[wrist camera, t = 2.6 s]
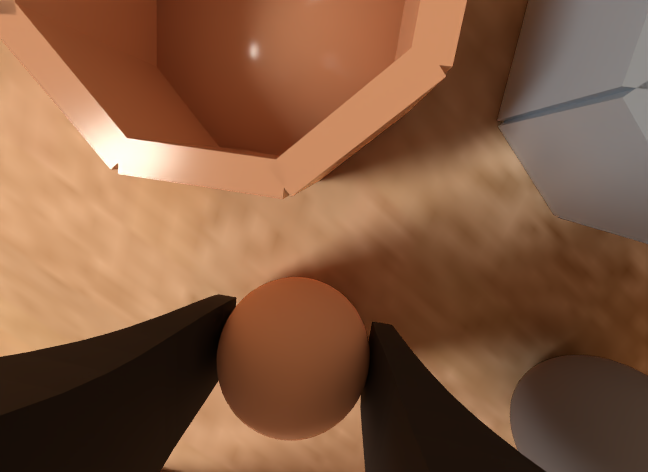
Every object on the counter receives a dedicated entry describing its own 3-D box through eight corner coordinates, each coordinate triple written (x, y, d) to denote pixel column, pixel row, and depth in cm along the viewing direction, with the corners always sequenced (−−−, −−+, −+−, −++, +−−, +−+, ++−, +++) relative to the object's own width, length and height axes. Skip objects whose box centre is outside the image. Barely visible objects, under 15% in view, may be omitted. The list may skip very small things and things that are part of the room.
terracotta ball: (357, 377, 12) (355, 501, 7) (244, 355, 12) (182, 464, 8) (377, 269, 11) (390, 343, 6) (253, 248, 11) (185, 306, 7)
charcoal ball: (595, 444, 11) (735, 613, 7) (473, 420, 12) (539, 569, 7) (642, 340, 10) (842, 467, 6) (506, 317, 11) (606, 423, 6)
